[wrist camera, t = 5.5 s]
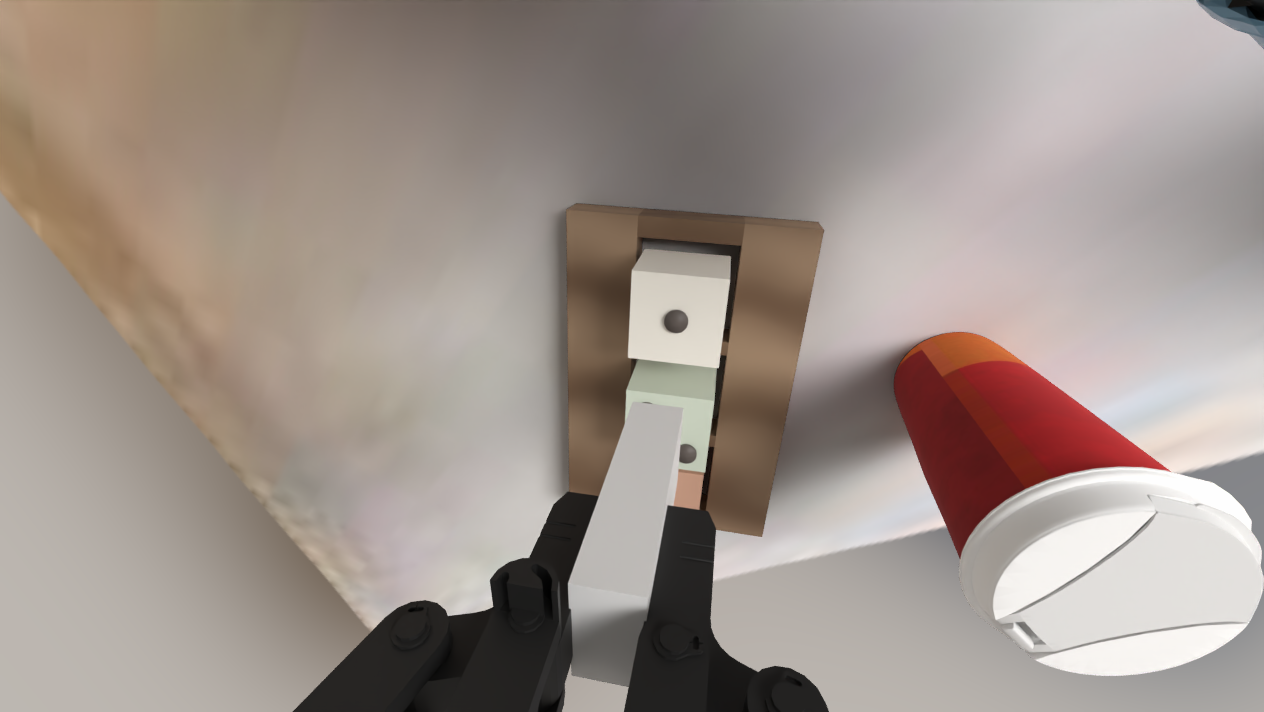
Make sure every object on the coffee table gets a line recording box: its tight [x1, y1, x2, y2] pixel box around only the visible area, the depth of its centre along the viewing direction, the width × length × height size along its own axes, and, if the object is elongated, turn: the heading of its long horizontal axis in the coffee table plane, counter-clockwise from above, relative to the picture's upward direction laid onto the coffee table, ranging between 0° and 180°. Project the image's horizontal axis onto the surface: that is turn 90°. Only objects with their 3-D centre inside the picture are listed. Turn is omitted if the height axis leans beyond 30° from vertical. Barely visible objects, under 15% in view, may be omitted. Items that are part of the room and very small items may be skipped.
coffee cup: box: [894, 332, 1264, 676], centre depth 23 cm, size 8×8×15 cm
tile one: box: [628, 249, 731, 368], centre depth 26 cm, size 4×4×4 cm
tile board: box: [566, 203, 824, 537], centre depth 32 cm, size 20×13×2 cm, turn 177°
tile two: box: [625, 359, 717, 473], centre depth 29 cm, size 4×4×4 cm
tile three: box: [673, 469, 704, 510], centre depth 33 cm, size 4×4×4 cm
